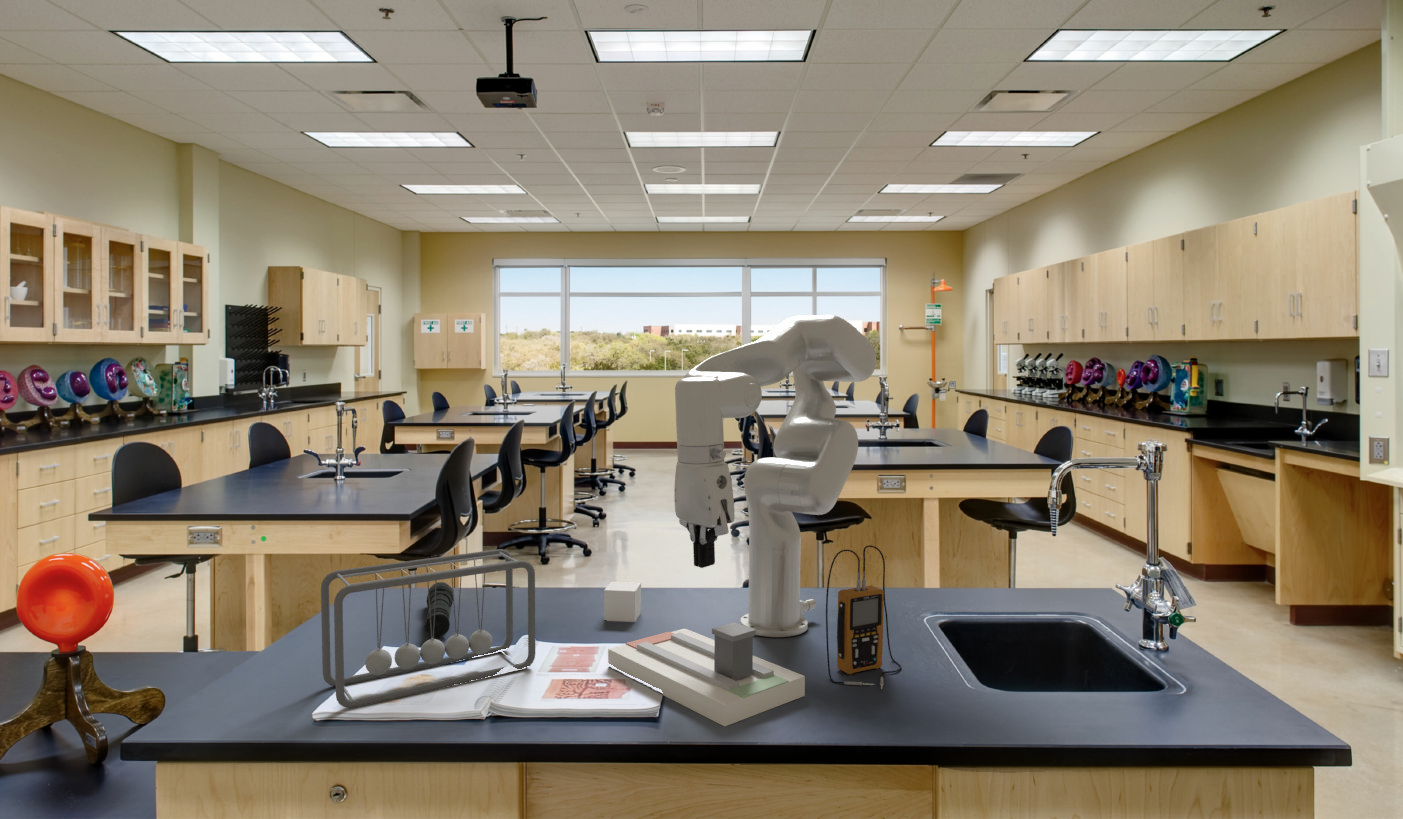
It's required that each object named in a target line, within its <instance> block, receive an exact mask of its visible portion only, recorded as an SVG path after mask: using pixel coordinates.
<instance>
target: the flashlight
mask: <svg viewBox="0 0 1403 819" xmlns="http://www.w3.org/2000/svg"><path fill="white" fill-rule="evenodd" d="M453 590H454V589H453ZM453 590H452V586H450V585H449V584H448V583H446V582H443V581H442V582H441V581H439V582H437V584H436V604H435V625H434V638H435V639H436V638H441V637H443V636H445V635H446V634H447V633H448V632H449V630H450V624H451V622H450V614H451V608H452V605H453ZM429 597H430V612H431V626H432V637H433V624H434V603H435V583H434V584H432V585H431V586H430V587H429ZM426 606H427V614H426V622H425V625H424V627H425V629H424V630H425V632H427V633H428V635H430V636H431V627H430V612H429V598H428V594H427V596H426Z"/></svg>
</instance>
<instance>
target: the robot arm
mask: <svg viewBox="0 0 1403 819" xmlns="http://www.w3.org/2000/svg"><path fill="white" fill-rule="evenodd" d="M876 365H877V356H876V350H875V348H874V346H873V344H872V343H871V342H870V340H869V339H868V338H867V337H866V336H865V335H863V333H861V332H860V330H858V329H857V328H856V327H855V326H854V325H853V324H852V323H850V322H849V321H848V320H845V319H844V318H842V317H840V316H837V315H835V314H834V315H833V314H824V315H823V314H822V315H820V314H819V315H817V314H816V315H795V316H790V317H788V318H786V319H783V321H781V322H780V323H778V324H777V325H776V326H774V327H773V328H771V329H770V330H769V331H767V332H766V333H765V334H763V335H762V336H761V337H760V338H759V337H758V339H757V340H755V341H753V342H750V343H746V344H744V345H740V346H738V347H736V348H732V349H730V350H729V349H728V350H726V351H724V352H721V353H718V354H715V355H712V356H711V357H708V358H706V359H705V360H703V361H702V362H700V363H698V364H697V365H696V366H694V367H693V368H691V369H690V370H688V372H687V373H686V374H685V375H684V376H683V378H681V379H679V380H678V381H677V382H676V383H675V387H674V396H675V398H674V399H675V401H674V402H675V424H676V426H675V428H676V447H677V448H676V451H677V461H676V467H675V475H674V493H673V494H674V496H673V497H674V512H675V516H676V518H678V519H679V520H678V521H679V523H678V524H680V525H681V526H682V527H684V528H686V529H687V531H688V533H689V539H690V541H691V542H692V545H693V546H692V547H693V548H692V549H693V566H694V567H698V568H699V569H700V568H701V569H704V568H707V567H710V566H714V565H715V563H716V551H715V542H716V541H717V540H718V537H719V536H723V535H727V534H729V532H730V530H729V526H728V524H732V523H734V521H735V500H734V490H733V484H732V483H733V482H732V477H731V472H730V468H729V465H728V464H729V463H726V462H725V458H726V451H725V442H724V437H725V436H724V435H725V434H724V420H725V419H741V418H746V417H748V416H751V415H753V413H755V412H756V411H757V409H758V408H759V406H760V405H761V402H762V398H763V393H762V388H763V387H766V386H770V385H775V384H777V383H779V382H782V381H783V380H784V379H785V378H787V377H788V376H789V375H791V373H792V377H793V383H794V389H795V390H794V391H795V392H794V394H795V398H794V401H793V402H792V405H791V407H790V408H789V411H788V413H787V415H786V416H785V418H784V419H783V422H782V424H781V425H780V427H779V429H778V431H777V432H776V435H775V438H774V440H773V452H774V455H775V456H774V457H770V456H769V457H762V458H758V459H755V460H754V461H753V462H751V463H750V464H749V465H748V467H747V469H746V470H745V474H744V480H743V482H744V484H743V485H744V486H743V487H744V493H745V500H746V504H747V511H748V513H747V514H748V529H749V530H748V531H749V534H748V536H749V537H748V540H749V541H748V542H749V543H748V544H749V545H748V613H745V614H744V615H743V616H741V617H740V619H739V624H741V625H744V626H747V627H749V628H752V629H755V630H756V635H755V636H760V637H768V638H786V637H787V638H788V637H794V636H798V635H801V634H804V633H805V632H806V631H807V630H808V628H809V622H808V620H807V619H806V618H805V617H804V614H805V613H806V612H807V611H811V610H814V609H816V607H817V603H816V601H815V599H813V598H810V599H806V600H801V552H802V551H801V550H802V549H801V546H802V544H801V542H802V537H801V536H802V535H801V530H800V526H799V524H798V522H797V520H796V517H795V516H794V513H798V514H804V515H817V516H820V515H821V516H822V515H825V514H827V513H829V512H830V511H831V510H832V509H833V508H834V507H835V505H836V503H837V501H838V499H839V498H840V495H841V493H842V491H843V489H844V486H845V484H846V482H847V480H848V478H849V475H850V473H851V471H852V470H853V467H854V464H855V462H856V460H857V456H858V450H859V437H858V436H859V435H858V432H857V431H856V428H855V427H854V425H853V424H852V423H850V422H849V421H847V420H845V419H844V420H843V419H841V418H835V417H836V413H837V407H836V404H835V400H834V399H833V397H832V395H831V393H830V392H829V391H828V390H827V387H826V386H825V384H824V382H844V383H845V382H846V383H849V382H851V383H857V382H863V381H864V382H865V381H867V380H868V379H869V378H870V377H871V376H872V375H873V373H874V372H875V369H876Z"/></svg>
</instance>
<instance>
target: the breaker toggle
mask: <svg viewBox="0 0 1403 819" xmlns="http://www.w3.org/2000/svg"><path fill="white" fill-rule="evenodd" d="M711 635H714V640H715V655H714V671H715V672H717V673H719V674H721V675H724V676H726V677H728V678H730V679H733V680H735V681H736V680H739V679H742V678H745V677H748V676H750V675H752V674H753V656H754V653H753V652H754V651H753V649H754V647H753V646H754V636H757V635H756V630H755V629H752V628H749V627H747V626H744V625H741V624H740V623H738V622H734V621H733V622H730V623H728V624H727V623H726V624H724V625H723V624H722V625H720V626H716V627H713V628H711Z"/></svg>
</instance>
